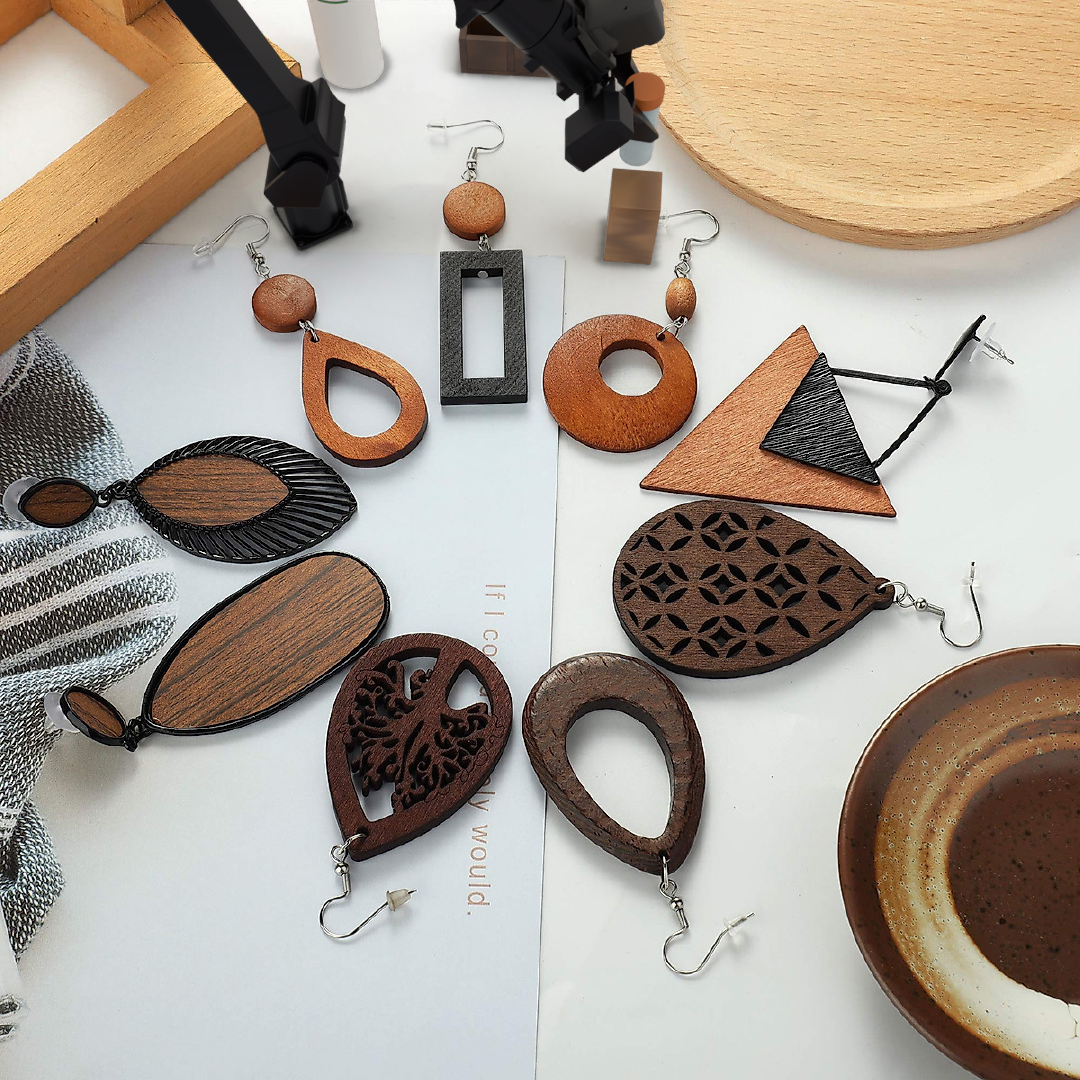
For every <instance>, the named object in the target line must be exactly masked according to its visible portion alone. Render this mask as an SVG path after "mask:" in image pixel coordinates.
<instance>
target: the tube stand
mask: <svg viewBox="0 0 1080 1080" xmlns="http://www.w3.org/2000/svg"><path fill="white" fill-rule="evenodd" d="M611 169H612V170H611V178H610V187H609V195H608V204H607V213H606V221H605V234H604V246H603V261H604V262H617V263H628V264H641V265H651V264H652V261H653V255H654V251H655V250H654V249H655V246H656V245H655V244H656V241H657V240H656V239H657V234H658V228H659V223H660V218H661V212H662V196H663V193H662V191H663V171H657V170H656V171H655V170H643V169H630V168H617V167H613V168H611Z"/></svg>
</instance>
